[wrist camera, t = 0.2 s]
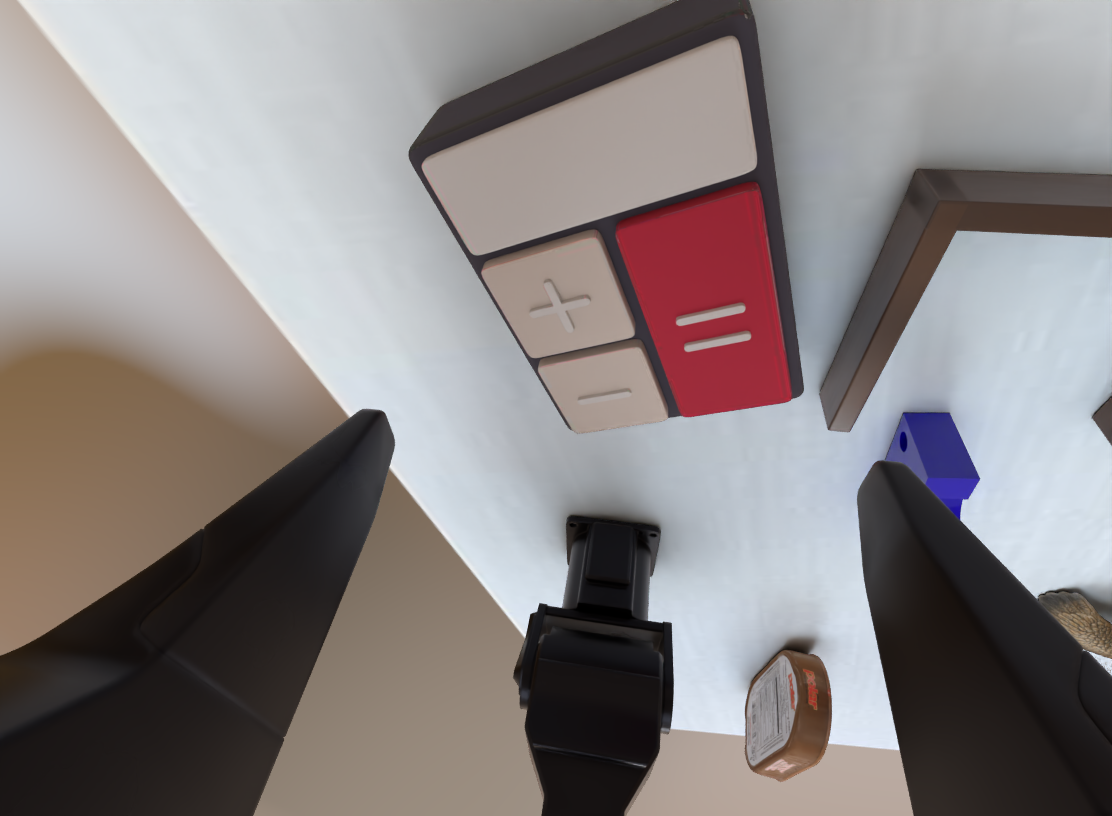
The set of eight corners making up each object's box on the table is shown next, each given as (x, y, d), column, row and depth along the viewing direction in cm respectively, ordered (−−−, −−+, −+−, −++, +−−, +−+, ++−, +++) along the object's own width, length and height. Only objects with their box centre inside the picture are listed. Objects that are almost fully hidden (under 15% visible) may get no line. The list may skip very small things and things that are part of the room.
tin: (767, 694, 56) (776, 792, 50) (735, 688, 56) (741, 785, 51) (826, 638, 45) (846, 755, 39) (787, 631, 45) (802, 746, 40)
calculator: (568, 446, 27) (392, 160, 17) (578, 384, 30) (432, 108, 20) (808, 412, 23) (756, 10, 13) (794, 343, 26) (742, -30, 16)
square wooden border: (1114, 419, 25) (1146, 461, 24) (818, 393, 27) (827, 431, 25) (1357, 182, 17) (1430, 219, 16) (916, 168, 19) (939, 200, 17)
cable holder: (933, 509, 32) (957, 572, 29) (866, 506, 32) (883, 568, 30) (985, 413, 26) (1020, 479, 23) (903, 412, 27) (927, 477, 24)
